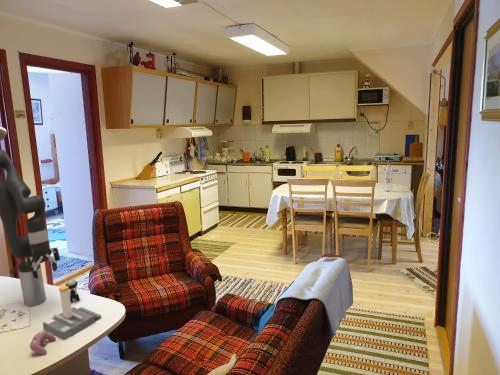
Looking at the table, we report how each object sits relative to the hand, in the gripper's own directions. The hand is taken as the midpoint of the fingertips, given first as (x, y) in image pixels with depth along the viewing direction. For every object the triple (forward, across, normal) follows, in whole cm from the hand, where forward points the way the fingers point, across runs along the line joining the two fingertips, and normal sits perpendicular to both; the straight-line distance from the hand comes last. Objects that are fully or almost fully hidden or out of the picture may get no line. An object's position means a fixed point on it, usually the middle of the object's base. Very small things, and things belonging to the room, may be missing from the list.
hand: (45, 274), depth 170 cm
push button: (+18, -9, +2) cm, 20 cm away
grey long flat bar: (+19, -5, +20) cm, 27 cm away
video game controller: (+19, +18, +24) cm, 36 cm away
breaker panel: (+19, +4, +20) cm, 27 cm away
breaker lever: (+15, +4, +20) cm, 25 cm away
